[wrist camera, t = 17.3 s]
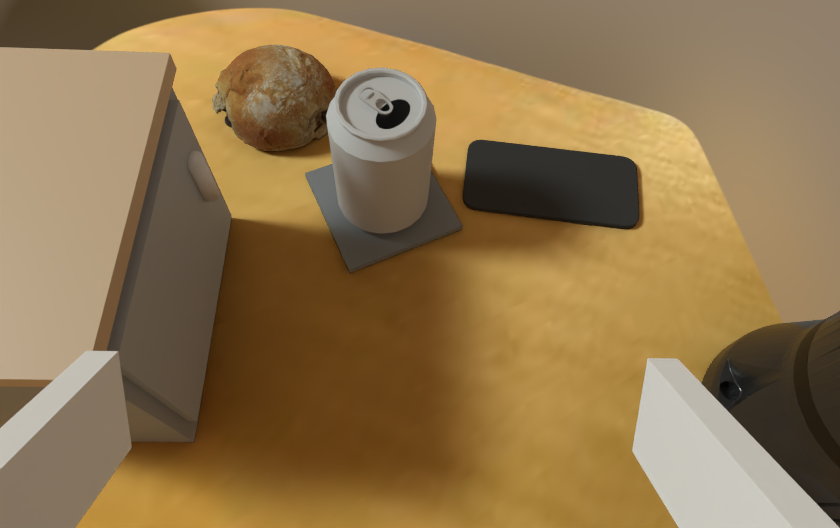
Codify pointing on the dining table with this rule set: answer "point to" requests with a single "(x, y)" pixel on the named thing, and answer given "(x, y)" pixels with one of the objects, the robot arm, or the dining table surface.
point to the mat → (376, 247)
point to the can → (381, 149)
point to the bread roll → (275, 97)
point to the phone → (551, 184)
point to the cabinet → (106, 232)
